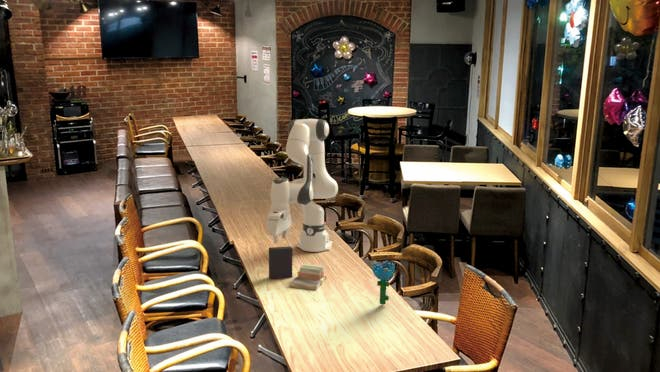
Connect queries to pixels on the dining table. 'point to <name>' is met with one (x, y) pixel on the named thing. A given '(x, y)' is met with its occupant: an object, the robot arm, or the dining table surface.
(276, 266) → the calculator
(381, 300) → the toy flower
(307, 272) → the sticky note pad set
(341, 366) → the dining table surface
